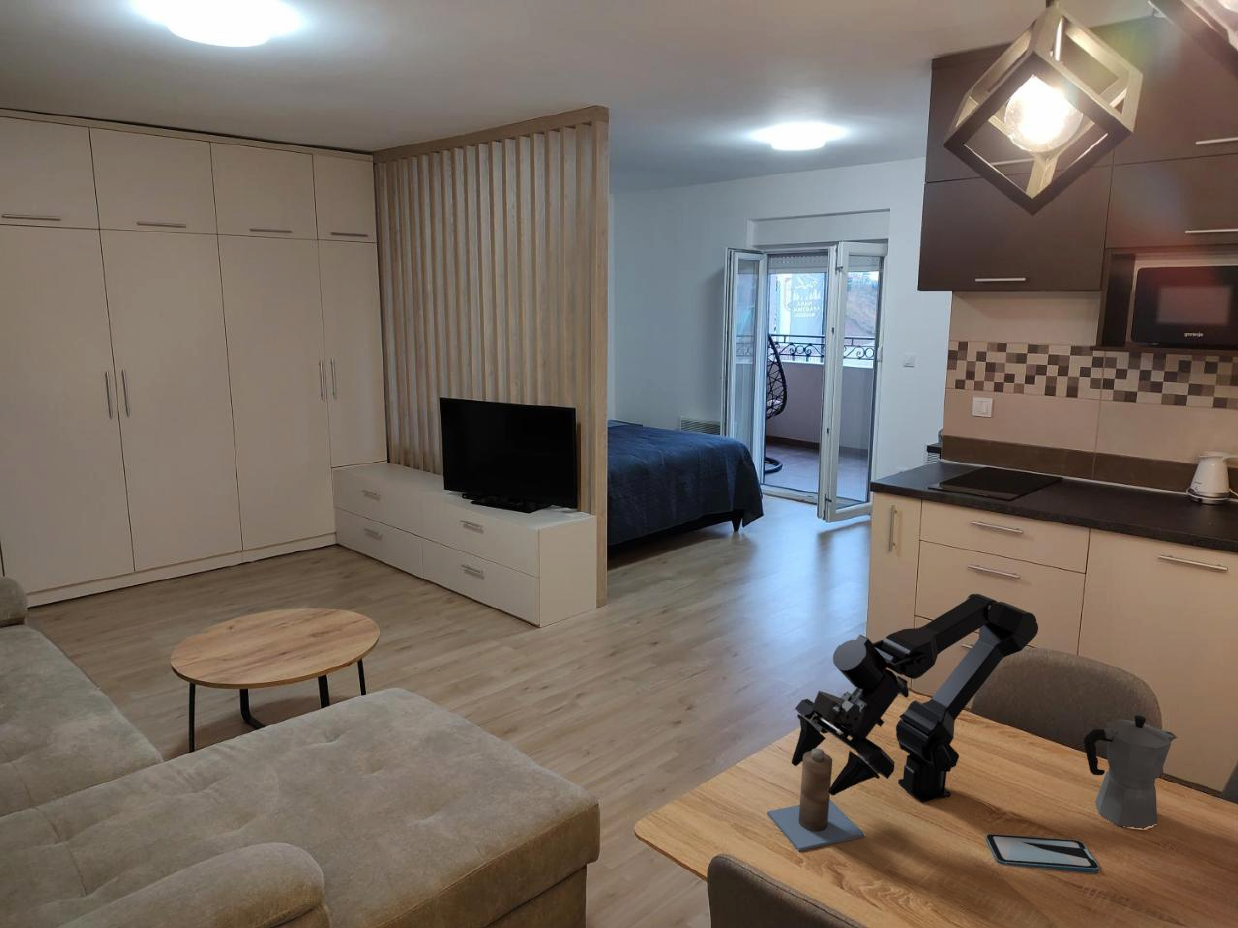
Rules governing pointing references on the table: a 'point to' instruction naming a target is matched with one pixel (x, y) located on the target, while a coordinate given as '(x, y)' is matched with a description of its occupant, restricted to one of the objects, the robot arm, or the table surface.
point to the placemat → (804, 839)
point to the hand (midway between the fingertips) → (811, 778)
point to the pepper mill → (815, 790)
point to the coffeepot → (1129, 770)
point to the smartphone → (1042, 853)
